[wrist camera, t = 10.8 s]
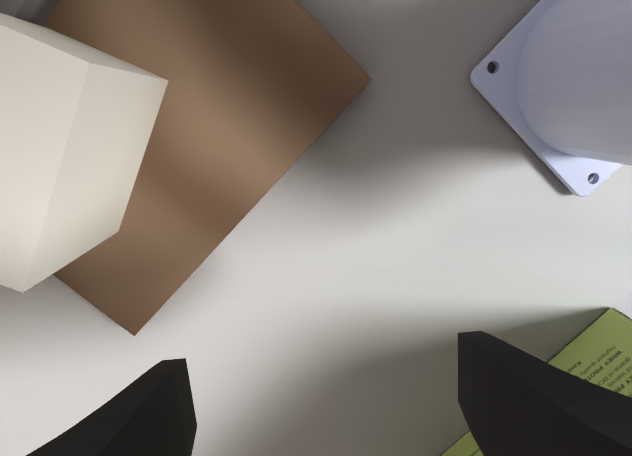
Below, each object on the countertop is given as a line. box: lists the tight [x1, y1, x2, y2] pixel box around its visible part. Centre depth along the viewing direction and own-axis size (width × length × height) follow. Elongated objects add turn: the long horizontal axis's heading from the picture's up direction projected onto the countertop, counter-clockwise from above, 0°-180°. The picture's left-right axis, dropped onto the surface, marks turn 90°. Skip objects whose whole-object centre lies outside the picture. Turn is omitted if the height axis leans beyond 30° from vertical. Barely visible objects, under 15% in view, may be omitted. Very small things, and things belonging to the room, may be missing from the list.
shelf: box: [0, 0, 371, 336], centre depth 19 cm, size 16×12×3 cm
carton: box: [0, 13, 169, 293], centre depth 16 cm, size 5×7×7 cm
